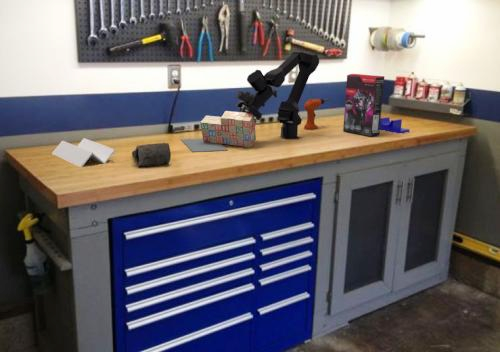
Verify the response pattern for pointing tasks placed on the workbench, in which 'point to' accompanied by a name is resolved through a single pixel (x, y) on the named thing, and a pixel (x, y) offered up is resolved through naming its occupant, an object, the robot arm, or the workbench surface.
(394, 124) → the mounting bracket
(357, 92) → the graphics card box
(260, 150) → the workbench surface
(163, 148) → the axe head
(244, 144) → the stack of blocks
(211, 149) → the mat
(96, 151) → the z bracket
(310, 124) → the toy drill
